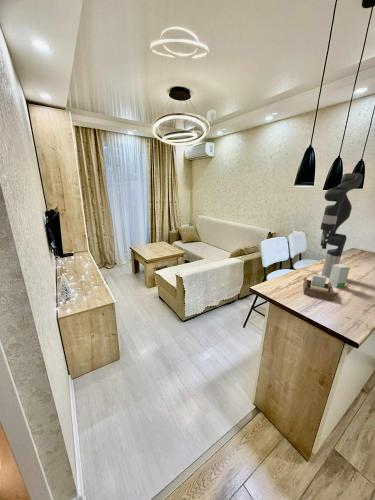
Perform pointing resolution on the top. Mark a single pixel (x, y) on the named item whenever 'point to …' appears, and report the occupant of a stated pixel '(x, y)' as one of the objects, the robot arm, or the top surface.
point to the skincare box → (339, 275)
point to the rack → (317, 293)
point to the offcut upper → (319, 288)
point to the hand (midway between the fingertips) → (322, 247)
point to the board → (318, 281)
